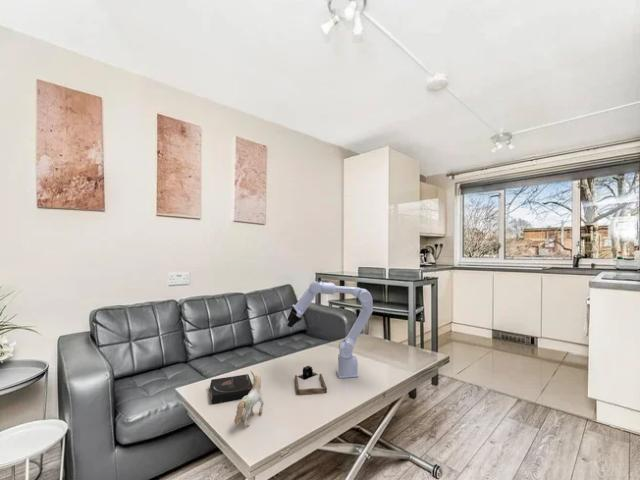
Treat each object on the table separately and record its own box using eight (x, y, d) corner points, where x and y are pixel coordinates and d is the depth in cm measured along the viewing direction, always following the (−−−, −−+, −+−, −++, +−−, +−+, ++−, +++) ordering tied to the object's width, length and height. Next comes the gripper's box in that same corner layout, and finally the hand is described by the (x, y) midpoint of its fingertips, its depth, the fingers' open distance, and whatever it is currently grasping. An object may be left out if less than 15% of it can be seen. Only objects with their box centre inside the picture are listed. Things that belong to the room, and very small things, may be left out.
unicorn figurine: (267, 404, 120) (267, 370, 121) (253, 433, 101) (254, 393, 101) (250, 403, 121) (250, 370, 121) (233, 432, 101) (233, 392, 102)
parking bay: (321, 377, 146) (321, 373, 146) (326, 393, 130) (326, 388, 130) (294, 379, 144) (294, 375, 144) (297, 395, 128) (297, 390, 128)
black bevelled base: (302, 382, 142) (302, 373, 142) (293, 378, 147) (293, 368, 147) (321, 375, 150) (321, 365, 150) (311, 371, 155) (311, 362, 156)
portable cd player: (209, 388, 135) (209, 379, 135) (248, 382, 141) (248, 374, 142) (211, 406, 120) (211, 395, 120) (253, 398, 126) (253, 388, 126)
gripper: (297, 294, 158) (282, 315, 158) (298, 301, 144) (282, 324, 143) (308, 301, 159) (293, 322, 159) (310, 309, 145) (294, 332, 144)
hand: (288, 323), depth 151 cm, fingers open, 7 cm apart
